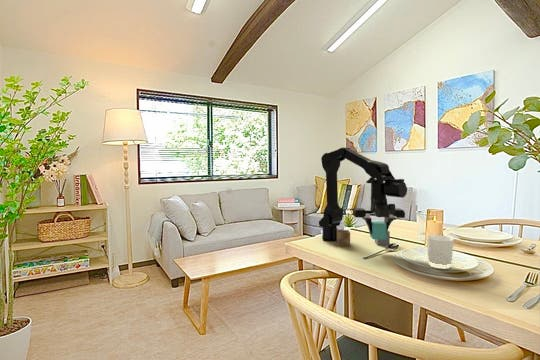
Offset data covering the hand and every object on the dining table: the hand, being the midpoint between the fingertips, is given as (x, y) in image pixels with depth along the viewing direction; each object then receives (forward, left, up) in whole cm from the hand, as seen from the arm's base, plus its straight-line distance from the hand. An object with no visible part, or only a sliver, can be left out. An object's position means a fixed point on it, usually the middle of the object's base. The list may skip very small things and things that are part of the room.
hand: (377, 234), depth 123 cm
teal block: (0, 0, -1) cm, 1 cm away
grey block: (+5, +13, -7) cm, 16 cm away
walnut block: (-12, +10, -7) cm, 17 cm away
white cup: (+17, -15, -7) cm, 24 cm away
